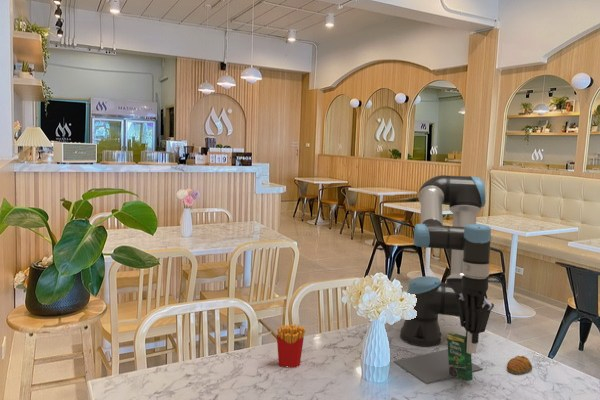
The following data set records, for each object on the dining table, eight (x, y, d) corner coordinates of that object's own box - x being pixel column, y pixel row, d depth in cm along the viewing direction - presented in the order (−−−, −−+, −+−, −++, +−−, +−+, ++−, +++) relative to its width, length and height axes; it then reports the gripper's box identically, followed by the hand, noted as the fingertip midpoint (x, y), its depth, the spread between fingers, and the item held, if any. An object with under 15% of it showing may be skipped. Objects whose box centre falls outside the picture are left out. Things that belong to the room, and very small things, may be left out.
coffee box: (447, 373, 151) (445, 332, 151) (454, 371, 152) (452, 331, 152) (465, 382, 144) (464, 339, 143) (473, 380, 145) (471, 337, 145)
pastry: (521, 378, 151) (522, 367, 150) (500, 370, 156) (501, 359, 155) (533, 369, 157) (534, 358, 156) (513, 362, 162) (514, 352, 161)
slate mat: (393, 362, 158) (393, 360, 158) (447, 350, 169) (447, 349, 169) (426, 384, 144) (426, 383, 144) (482, 369, 155) (482, 368, 155)
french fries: (275, 367, 152) (277, 328, 150) (276, 361, 156) (277, 323, 155) (304, 367, 152) (305, 329, 151) (303, 361, 157) (305, 324, 155)
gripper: (450, 272, 145) (446, 347, 147) (483, 282, 134) (479, 362, 136) (467, 270, 149) (464, 343, 151) (501, 279, 138) (497, 358, 139)
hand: (471, 352), depth 143 cm, fingers closed
